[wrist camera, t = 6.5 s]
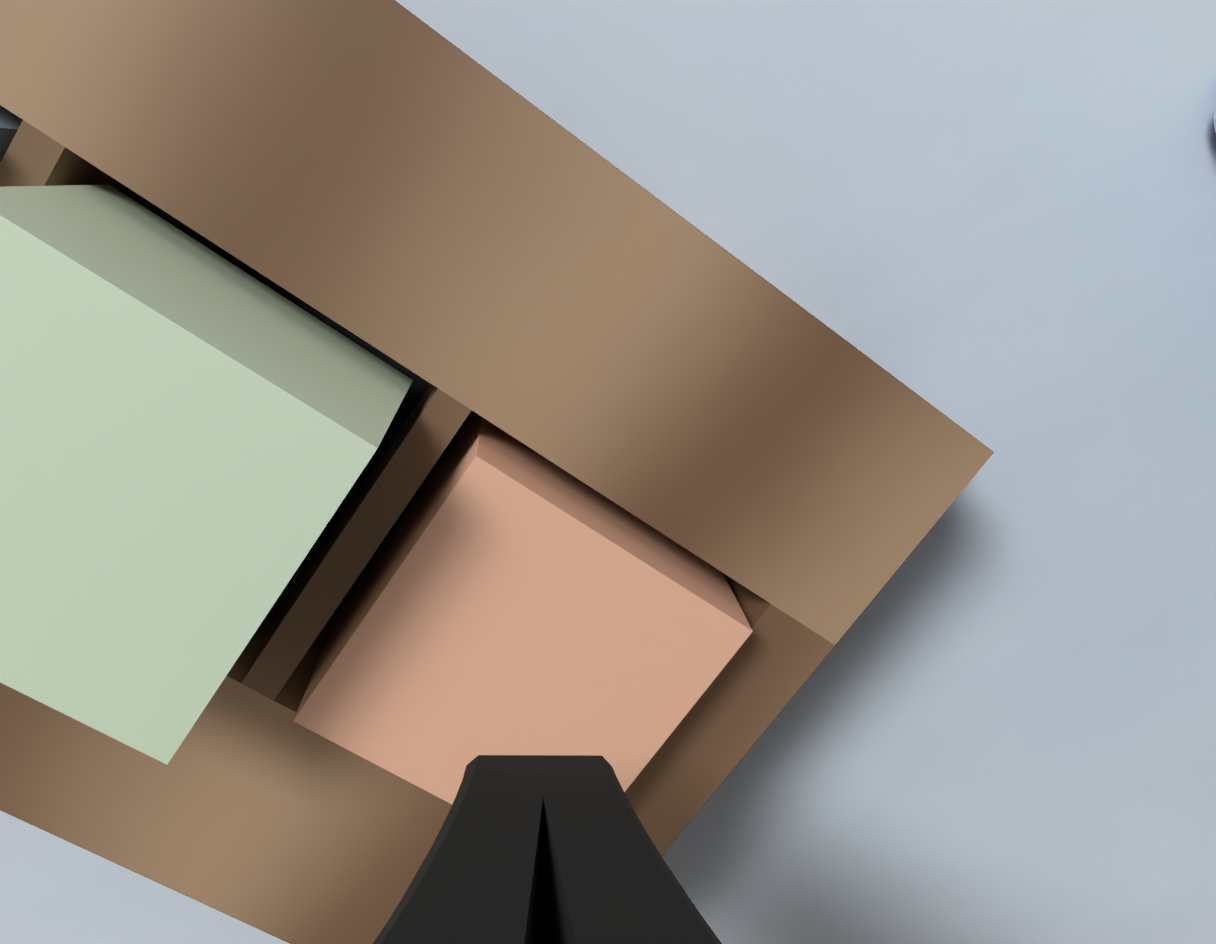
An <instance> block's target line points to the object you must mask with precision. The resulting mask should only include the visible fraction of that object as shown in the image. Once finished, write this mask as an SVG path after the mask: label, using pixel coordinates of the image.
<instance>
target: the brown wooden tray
mask: <svg viewBox="0 0 1216 944" xmlns="http://www.w3.org/2000/svg"><path fill="white" fill-rule="evenodd" d="M0 105H1V106H2V107H4V108H6V109H7V110H9V111H10V112H12V113H13V114H15V115H16V116H18V117H19V118H21V119H23V121H22V123H21V125H20V126H19V128H18V130H17V132H16V134H15V136H14V138H13V140H12V142H11V143H10V145H9V147H8V149H7V151H6V153H5V155H4V157H3V159H2V160H1V162H0V187H6V186H61V185H111V186H112V187H114V188H116V189H117V190H119V191H120V192H122V193H123V194H125V195H126V196H128V197H130V198H131V199H134V198H135V196H136V194H138V195H140V196H142V197H143V198H145V199H146V200H148V201H149V202H151V203H152V204H154V205H155V206H157V207H159V208H160V209H162V210H163V211H165V212H166V213H168V214H169V215H171V216H172V217H174V218H175V219H177V220H179V221H180V222H182V223H183V224H185V225H186V226H188V227H189V228H191V229H192V230H194V231H196V232H197V233H199V234H200V235H202V236H203V237H205V238H206V239H208V240H209V241H211V242H213V243H214V244H216V245H217V246H219V247H220V248H222V249H223V250H225V251H226V252H228V253H230V254H231V255H233V256H234V257H236V258H237V259H239V260H240V261H242V262H243V263H245V264H247V265H248V266H250V267H251V268H253V269H254V270H256V271H257V272H259V273H260V274H262V275H264V276H265V277H267V278H268V279H270V280H271V281H273V282H274V283H276V284H277V285H279V286H281V287H282V288H284V289H285V290H287V291H288V292H290V293H291V294H293V295H294V296H296V297H298V298H299V299H301V300H302V301H304V302H305V303H307V304H308V305H310V306H311V307H313V308H315V309H316V310H318V311H319V312H321V313H322V314H324V315H325V316H327V317H328V318H330V319H332V320H333V321H335V322H336V323H338V324H339V325H341V326H342V327H344V328H345V329H347V330H349V331H350V332H352V333H353V334H355V335H356V336H358V337H359V338H361V339H362V340H364V341H366V342H367V343H369V344H370V345H372V346H373V347H375V348H376V349H378V350H379V351H381V352H383V353H384V354H386V355H387V356H389V357H390V358H392V359H393V360H395V361H396V362H398V363H400V364H401V365H403V366H404V367H406V368H407V369H409V370H410V371H412V372H413V373H415V374H417V375H418V376H420V377H421V378H423V379H424V380H426V381H427V382H429V383H430V385H429V386H428V388H427V389H426V391H425V392H424V394H423V395H422V397H421V398H420V400H419V401H418V403H417V404H416V406H415V407H414V409H413V410H412V412H411V413H410V415H409V416H408V418H407V419H406V421H405V422H404V424H403V425H402V427H401V428H400V430H399V431H398V433H397V434H396V436H395V437H394V439H393V440H392V442H391V443H390V445H389V446H388V448H387V449H386V451H385V452H384V454H383V455H382V457H381V458H380V460H379V461H378V463H377V464H376V466H375V467H374V469H373V470H372V472H371V473H370V475H369V476H368V478H367V479H366V481H365V482H364V484H363V485H362V487H361V488H360V490H359V491H358V493H357V494H356V496H355V497H354V499H353V500H352V502H351V503H350V505H349V506H348V508H347V509H346V511H345V512H344V514H343V515H342V517H341V518H340V520H339V521H338V523H337V524H336V526H335V527H334V529H333V530H332V532H331V533H330V535H329V536H328V538H327V539H326V541H325V542H324V544H323V545H322V547H321V548H320V550H319V551H318V553H317V554H316V556H315V557H314V559H313V560H312V562H311V563H310V565H309V566H308V568H307V569H306V571H305V572H304V574H303V575H302V577H301V578H300V580H299V581H298V582H297V584H296V585H295V587H294V588H293V590H292V591H291V592H290V591H288V590H286V589H284V590H283V591H282V593H281V594H280V596H279V597H278V599H277V600H276V602H275V603H274V605H273V606H272V608H271V609H270V611H269V612H268V614H267V615H266V617H265V618H264V620H263V621H262V623H261V624H260V626H259V627H258V629H257V630H256V632H255V633H254V635H253V636H252V638H251V640H250V641H249V643H248V644H247V646H246V647H245V649H244V650H243V652H242V653H241V655H240V656H239V658H238V659H237V661H236V662H235V664H234V665H233V667H232V668H231V670H230V671H229V673H228V674H227V676H226V677H225V679H224V680H223V682H222V683H221V685H220V686H219V688H218V689H217V691H216V692H215V694H214V695H213V697H212V698H211V700H210V701H209V703H208V704H207V706H206V707H205V709H204V710H203V712H202V713H201V715H200V716H199V718H198V719H197V721H196V722H195V724H194V725H193V727H192V728H191V730H190V731H189V733H188V734H187V736H186V737H185V739H184V740H183V742H182V743H181V745H180V746H179V748H178V749H177V751H176V752H175V754H174V755H173V757H172V758H171V760H170V761H169V763H168V764H167V765H166V764H164V763H162V762H160V761H158V760H156V759H154V758H152V757H150V756H148V755H146V754H144V753H142V752H140V751H138V750H136V749H134V748H132V747H130V746H128V745H126V744H124V743H122V742H120V741H118V740H116V739H114V738H112V737H110V736H108V735H106V734H104V733H102V732H100V731H98V730H95V729H93V728H91V727H89V726H87V725H85V724H83V723H81V722H79V721H77V720H75V719H73V718H71V717H69V716H67V715H65V714H63V713H61V712H59V711H57V710H55V709H53V708H51V707H49V706H47V705H45V704H43V703H41V702H39V701H37V700H35V699H33V698H31V697H29V696H27V695H25V694H23V693H21V692H19V691H17V690H15V689H13V688H10V687H8V686H6V685H4V684H2V683H0V810H1V811H3V812H5V813H7V814H10V815H12V816H14V817H16V818H18V819H21V820H23V821H25V822H27V823H29V824H31V825H34V826H36V827H38V828H40V829H42V830H44V831H47V832H49V833H51V834H53V835H55V836H57V837H60V838H62V839H64V840H66V841H68V842H70V843H73V844H75V845H77V846H79V847H81V848H84V849H86V850H88V851H90V852H92V853H94V854H97V855H99V856H101V857H103V858H105V859H107V860H110V861H112V862H114V863H116V864H118V865H120V866H123V867H125V868H127V869H129V870H131V871H133V872H136V873H138V874H140V875H142V876H144V877H147V878H149V879H151V880H153V881H155V882H157V883H160V884H162V885H164V886H166V887H168V888H170V889H173V890H175V891H177V892H179V893H181V894H183V895H186V896H188V897H190V898H192V899H194V900H196V901H199V902H201V903H203V904H205V905H207V906H210V907H212V908H214V909H216V910H218V911H220V912H223V913H225V914H227V915H229V916H231V917H233V918H236V919H238V920H240V921H242V922H244V923H246V924H249V925H251V926H253V927H255V928H257V929H259V930H262V931H264V932H266V933H268V934H270V935H273V936H275V937H277V938H279V939H281V940H283V941H286V942H288V943H290V944H373V943H374V941H375V940H376V938H377V937H378V935H379V934H380V932H381V931H382V929H383V928H384V926H385V925H386V923H387V922H388V920H389V919H390V917H391V915H392V914H393V912H394V911H395V909H396V907H397V906H398V904H399V903H400V901H401V899H402V898H403V896H404V894H405V892H406V891H407V889H408V887H409V885H410V884H411V882H412V880H413V878H414V877H415V875H416V873H417V871H418V870H419V868H420V866H421V864H422V863H423V861H424V859H425V857H426V856H427V854H428V852H429V850H430V849H431V847H432V845H433V843H434V841H435V839H436V837H437V835H438V833H439V831H440V829H441V827H442V825H443V823H444V821H445V819H446V817H447V815H448V813H449V811H450V809H451V807H452V804H450V803H448V802H446V801H444V800H442V799H441V798H439V797H437V796H435V795H433V794H431V793H429V792H427V791H425V790H423V789H422V788H420V787H418V786H416V785H414V784H412V783H410V782H408V781H406V780H404V779H402V778H401V777H399V776H397V775H395V774H393V773H391V772H389V771H387V770H385V769H383V768H381V767H380V766H378V765H376V764H374V763H372V762H370V761H368V760H366V759H364V758H362V757H361V756H359V755H357V754H355V753H353V752H351V751H349V750H347V749H345V748H343V747H341V746H340V745H338V744H336V743H334V742H332V741H330V740H328V739H326V738H324V737H322V736H320V735H319V734H317V733H315V732H313V731H311V730H309V729H307V728H305V727H303V726H301V725H300V724H298V723H296V722H294V721H293V720H294V718H295V715H296V713H297V710H298V708H299V705H300V703H301V701H302V698H303V696H304V693H305V691H306V689H307V686H308V684H309V681H310V679H311V677H312V674H313V672H314V669H315V667H316V665H317V662H318V660H319V657H320V655H321V652H322V650H323V648H324V645H325V643H326V640H327V638H328V636H329V633H330V631H331V628H332V626H333V624H334V621H335V619H336V617H334V616H332V614H333V613H334V611H335V610H336V608H337V607H338V605H339V604H340V603H341V601H342V600H343V598H344V597H345V595H346V594H347V592H348V591H349V589H350V588H351V586H352V585H353V583H354V582H355V581H356V579H357V578H358V576H359V575H360V573H361V572H362V570H363V569H364V567H365V566H366V564H367V563H368V562H369V560H370V559H371V557H372V556H373V554H374V553H375V551H376V550H377V548H378V547H379V545H380V544H381V542H382V541H383V540H384V538H385V537H386V535H387V534H388V532H389V531H390V529H391V528H392V526H393V525H394V523H395V522H396V520H397V519H398V518H399V516H400V515H401V513H402V512H403V510H404V509H405V507H406V506H407V504H408V503H409V501H410V500H411V498H412V497H413V496H414V494H415V493H416V491H417V490H418V488H419V487H420V485H421V484H422V482H423V481H424V479H425V478H426V476H427V475H428V474H429V472H430V471H431V469H432V468H433V466H434V465H435V463H436V462H437V460H438V459H439V457H440V456H441V455H442V453H443V452H444V450H445V449H446V447H447V446H448V444H449V443H450V441H451V440H452V438H453V437H454V435H455V434H456V433H457V431H458V430H459V428H460V427H461V425H462V424H463V422H464V421H465V419H466V418H467V416H468V415H469V413H470V412H471V411H474V412H475V413H477V414H478V415H480V416H481V417H483V418H485V419H486V420H488V421H489V422H491V423H492V424H494V425H495V426H497V427H498V428H500V429H502V430H503V431H505V432H506V433H508V434H509V435H511V436H512V437H514V438H515V439H517V440H519V441H520V442H522V443H523V444H525V445H526V446H528V447H529V448H531V449H532V450H534V451H536V452H537V453H539V454H540V455H542V456H543V457H545V458H546V459H548V460H549V461H551V462H553V463H554V464H556V465H557V466H559V467H560V468H562V469H563V470H565V471H566V472H568V473H570V474H571V475H573V476H574V477H576V478H577V479H579V480H580V481H582V482H583V483H585V484H587V485H588V486H590V487H591V488H593V489H594V490H596V491H597V492H599V493H600V494H602V495H604V496H605V497H607V498H608V499H610V500H611V501H613V502H614V503H616V504H617V505H619V506H621V507H622V508H624V509H625V510H627V511H628V512H630V513H631V514H633V515H634V516H636V517H638V518H639V519H641V520H642V521H644V522H645V523H647V524H648V525H650V526H651V527H653V528H655V529H656V530H658V531H659V532H661V533H662V534H664V535H665V536H667V537H668V538H670V539H672V540H673V541H675V542H676V543H678V544H679V545H681V546H682V547H684V548H685V549H687V550H689V551H690V552H692V553H693V554H695V555H696V556H698V557H699V558H701V559H702V560H704V561H706V562H707V563H709V564H710V565H712V566H713V567H715V568H716V569H718V570H719V571H721V572H723V574H724V576H725V578H726V580H727V582H728V584H729V586H730V588H731V590H732V592H733V594H734V596H735V598H736V599H737V601H738V603H739V605H740V607H741V609H742V611H743V613H744V615H745V617H746V619H747V621H748V623H749V625H750V627H751V629H752V630H753V632H752V633H751V634H750V636H749V637H748V638H747V639H746V641H745V642H744V643H743V644H742V646H741V647H740V648H739V649H738V651H737V652H736V653H735V654H734V656H733V657H732V658H731V659H730V661H729V662H728V663H727V664H726V666H725V667H724V668H723V669H722V671H721V672H720V673H719V674H718V676H717V677H716V678H715V679H714V681H713V682H712V683H711V684H710V686H709V687H708V688H707V689H706V691H705V692H704V693H703V694H702V696H701V697H700V698H699V699H698V701H697V702H696V703H695V704H694V706H693V707H692V708H691V710H690V711H689V712H688V713H687V715H686V716H685V717H684V718H683V720H682V721H681V722H680V723H679V725H678V726H677V727H676V728H675V730H674V731H673V732H672V733H671V735H670V736H669V737H668V738H667V740H666V741H665V742H664V743H663V745H662V746H661V747H660V748H659V750H658V751H657V752H656V753H655V755H654V756H653V757H652V758H651V760H650V761H649V762H648V763H647V765H646V766H645V767H644V768H643V770H642V771H641V772H640V773H639V775H638V776H637V777H636V778H635V780H634V781H633V782H632V783H631V785H630V786H629V787H628V788H627V790H626V791H625V792H624V793H625V794H626V796H627V798H628V800H629V802H630V804H631V806H632V807H633V809H634V811H635V813H636V815H637V816H638V818H639V820H640V822H641V823H642V825H643V827H644V828H645V830H646V832H647V833H648V835H649V837H650V838H651V840H652V842H653V844H654V845H655V847H656V848H657V850H658V852H659V853H660V855H661V856H662V855H663V854H664V852H665V851H666V850H667V849H668V848H669V846H670V845H671V844H672V843H673V842H674V840H675V839H676V838H677V837H678V835H679V834H680V833H681V832H682V831H683V829H684V828H685V827H686V826H687V824H688V823H689V822H690V821H691V820H692V818H693V817H694V816H695V815H696V814H697V812H698V811H699V810H700V809H701V807H702V806H703V805H704V804H705V803H706V801H707V800H708V799H709V798H710V797H711V795H712V794H713V793H714V792H715V790H716V789H717V788H718V787H719V786H720V784H721V783H722V782H723V781H724V780H725V778H726V777H727V776H728V775H729V773H730V772H731V771H732V770H733V769H734V767H735V766H736V765H737V764H738V763H739V761H740V760H741V759H742V758H743V756H744V755H745V754H746V753H747V752H748V750H749V749H750V748H751V747H752V746H753V744H754V743H755V742H756V741H757V739H758V738H759V737H760V736H761V735H762V733H763V732H764V731H765V730H766V729H767V727H768V726H769V725H770V724H771V722H772V721H773V720H774V719H775V718H776V716H777V715H778V714H779V713H780V712H781V710H782V709H783V708H784V707H785V705H786V704H787V703H788V702H789V701H790V699H791V698H792V697H793V696H794V695H795V693H796V692H797V691H798V690H799V688H800V687H801V686H802V685H803V684H804V682H805V681H806V680H807V679H808V678H809V676H810V675H811V674H812V673H813V671H814V670H815V669H816V668H817V667H818V665H819V664H820V663H821V662H822V660H823V659H824V658H825V657H826V656H827V654H828V653H829V652H830V651H831V650H832V648H833V647H834V646H835V645H836V643H837V642H838V641H839V640H840V639H841V637H842V636H843V635H844V634H845V633H846V631H847V630H848V629H849V628H850V626H851V625H852V624H853V623H854V622H855V620H856V619H857V618H858V617H859V616H860V614H861V613H862V612H863V611H864V609H865V608H866V607H867V606H868V605H869V603H870V602H871V601H872V600H873V599H874V597H875V596H876V595H877V594H878V592H879V591H880V590H881V589H882V588H883V586H884V585H885V584H886V583H887V582H888V580H889V579H890V578H891V577H892V575H893V574H894V573H895V572H896V571H897V569H898V568H899V567H900V566H901V565H902V563H903V562H904V561H905V560H906V558H907V557H908V556H909V555H910V554H911V552H912V551H913V550H914V549H915V548H916V546H917V545H918V544H919V543H920V541H921V540H922V539H923V538H924V537H925V535H926V534H927V533H928V532H929V531H930V529H931V528H932V527H933V526H934V524H935V523H936V522H937V521H938V520H939V518H940V517H941V516H942V515H943V514H944V512H945V511H946V510H947V509H948V507H949V506H950V505H951V504H952V503H953V501H954V500H955V499H956V498H957V496H958V495H959V494H960V493H961V492H962V490H963V489H964V488H965V487H966V486H967V484H968V483H969V482H970V481H971V479H972V478H973V477H974V476H975V475H976V473H977V472H978V471H979V470H980V469H981V467H982V466H983V465H984V464H985V462H986V461H987V460H988V459H989V458H990V456H991V455H992V454H993V453H994V452H993V451H992V450H991V449H989V448H988V447H987V446H985V445H984V444H983V443H981V442H980V441H979V440H977V439H976V438H975V437H973V436H972V435H971V434H969V433H968V432H967V431H965V430H964V429H963V428H961V427H960V426H959V425H957V424H956V423H955V422H953V421H952V420H951V419H949V418H948V417H947V416H945V415H944V414H943V413H941V412H940V411H939V410H937V409H936V408H935V407H934V406H932V405H931V404H930V403H928V402H927V401H926V400H924V399H923V398H922V397H920V396H919V395H918V394H916V393H915V392H914V391H912V390H911V389H910V388H908V387H907V386H906V385H904V384H903V383H902V382H900V381H899V380H898V379H896V378H895V377H894V376H892V375H891V374H890V373H888V372H887V371H886V370H884V369H883V368H882V367H880V366H879V365H878V364H876V363H875V362H874V361H872V360H871V359H870V358H869V357H867V356H866V355H865V354H863V353H862V352H861V351H859V350H858V349H857V348H855V347H854V346H853V345H851V344H850V343H849V342H847V341H846V340H845V339H843V338H842V337H841V336H839V335H838V334H837V333H835V332H834V331H833V330H831V329H830V328H829V327H827V326H826V325H825V324H823V323H822V322H821V321H819V320H818V319H817V318H815V317H814V316H813V315H811V314H810V313H809V312H807V311H806V310H805V309H803V308H802V307H801V306H800V305H798V304H797V303H796V302H794V301H793V300H792V299H790V298H789V297H788V296H786V295H785V294H784V293H782V292H781V291H780V290H778V289H777V288H776V287H774V286H773V285H772V284H770V283H769V282H768V281H766V280H765V279H764V278H762V277H761V276H760V275H758V274H757V273H756V272H754V271H753V270H752V269H750V268H749V267H748V266H746V265H745V264H744V263H742V262H741V261H740V260H738V259H737V258H736V257H734V256H733V255H732V254H731V253H729V252H728V251H727V250H725V249H724V248H723V247H721V246H720V245H719V244H717V243H716V242H715V241H713V240H712V239H711V238H709V237H708V236H707V235H705V234H704V233H703V232H701V231H700V230H699V229H697V228H696V227H695V226H693V225H692V224H691V223H689V222H688V221H687V220H685V219H684V218H683V217H681V216H680V215H679V214H677V213H676V212H675V211H673V210H672V209H671V208H669V207H668V206H667V205H666V204H664V203H663V202H662V201H660V200H659V199H658V198H656V197H655V196H654V195H652V194H651V193H650V192H648V191H647V190H646V189H644V188H643V187H642V186H640V185H639V184H638V183H636V182H635V181H634V180H632V179H631V178H630V177H628V176H627V175H626V174H624V173H623V172H622V171H620V170H619V169H618V168H616V167H615V166H614V165H612V164H611V163H610V162H608V161H607V160H606V159H604V158H603V157H602V156H600V155H599V154H598V153H597V152H595V151H594V150H593V149H591V148H590V147H589V146H587V145H586V144H585V143H583V142H582V141H581V140H579V139H578V138H577V137H575V136H574V135H573V134H571V133H570V132H569V131H567V130H566V129H565V128H563V127H562V126H561V125H559V124H558V123H557V122H555V121H554V120H553V119H551V118H550V117H549V116H547V115H546V114H545V113H543V112H542V111H541V110H539V109H538V108H537V107H535V106H534V105H533V104H532V103H530V102H529V101H528V100H526V99H525V98H524V97H522V96H521V95H520V94H518V93H517V92H516V91H514V90H513V89H512V88H510V87H509V86H508V85H506V84H505V83H504V82H502V81H501V80H500V79H498V78H497V77H496V76H494V75H493V74H492V73H490V72H489V71H488V70H486V69H485V68H484V67H482V66H481V65H480V64H478V63H477V62H476V61H474V60H473V59H472V58H470V57H469V56H468V55H466V54H465V53H464V52H463V51H461V50H460V49H459V48H457V47H456V46H455V45H453V44H452V43H451V42H449V41H448V40H447V39H445V38H444V37H443V36H441V35H440V34H439V33H437V32H436V31H435V30H433V29H432V28H431V27H429V26H428V25H427V24H425V23H424V22H423V21H421V20H420V19H419V18H417V17H416V16H415V15H413V14H412V13H411V12H409V11H408V10H407V9H405V8H404V7H403V6H401V5H400V4H399V3H397V2H396V1H395V0H0Z"/></svg>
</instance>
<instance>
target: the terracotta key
mask: <svg viewBox="0 0 1216 944" xmlns="http://www.w3.org/2000/svg"><path fill="white" fill-rule="evenodd" d="M752 632H753V630H752V629H751V627H750V625H749V623H748V621H747V619H746V617H745V615H744V613H743V611H742V609H741V607H740V605H739V603H738V601H737V599H736V598H735V596H734V594H733V592H732V590H731V588H730V586H729V584H728V582H727V580H726V578H725V576H724V574H723V572H721V571H719V570H718V569H716V568H715V567H713V566H712V565H710V564H709V563H707V562H706V561H704V560H702V559H701V558H699V557H698V556H696V555H695V554H693V553H692V552H690V551H689V550H687V549H685V548H684V547H682V546H681V545H679V544H678V543H676V542H675V541H673V540H672V539H670V538H668V537H667V536H665V535H664V534H662V533H661V532H659V531H658V530H656V529H655V528H653V527H651V526H650V525H648V524H647V523H645V522H644V521H642V520H641V519H639V518H638V517H636V516H634V515H633V514H631V513H630V512H628V511H627V510H625V509H624V508H622V507H621V506H619V505H617V504H616V503H614V502H613V501H611V500H610V499H608V498H607V497H605V496H604V495H602V494H600V493H599V492H597V491H596V490H594V489H593V488H591V487H590V486H588V485H587V484H585V483H583V482H582V481H580V480H579V479H577V478H576V477H574V476H573V475H571V474H570V473H568V472H566V471H565V470H563V469H562V468H560V467H559V466H557V465H556V464H554V463H553V462H551V461H549V460H548V459H546V458H545V457H543V456H542V455H540V454H539V453H537V452H536V451H534V450H532V449H531V448H529V447H528V446H526V445H525V444H523V443H522V442H520V441H519V440H517V439H515V438H514V437H512V436H511V435H509V434H508V433H506V432H505V431H503V430H502V429H500V428H498V427H497V426H495V425H494V424H492V423H491V422H489V421H488V420H486V419H485V418H483V417H481V416H480V415H478V414H477V413H475V412H474V413H473V415H472V416H471V417H470V419H469V420H468V422H467V423H466V425H465V426H464V428H463V429H462V431H461V432H460V434H459V435H458V436H457V438H456V439H455V441H454V442H453V444H452V445H451V447H450V448H449V450H448V451H447V453H446V454H445V456H444V457H443V458H442V460H441V461H440V463H439V464H438V466H437V467H436V469H435V470H434V472H433V473H432V475H431V476H430V477H429V479H428V480H427V482H426V483H425V485H424V486H423V488H422V489H421V491H420V492H419V494H418V495H417V496H416V498H415V499H414V501H413V502H412V504H411V505H410V507H409V508H408V510H407V511H406V513H405V514H404V516H403V517H402V518H401V520H400V521H399V523H398V524H397V526H396V527H395V529H394V530H393V532H392V533H391V535H390V536H389V537H388V539H387V540H386V542H385V543H384V545H383V546H382V548H381V549H380V551H379V552H378V554H377V555H376V556H375V558H374V559H373V561H372V562H371V564H370V565H369V567H368V568H367V570H366V571H365V573H364V574H363V576H362V577H361V578H360V580H359V581H358V583H357V584H356V586H355V587H354V589H353V590H352V592H351V593H350V595H349V596H348V597H347V599H346V600H345V602H344V603H343V605H342V606H341V608H340V609H339V612H338V614H337V616H336V619H335V621H334V624H333V626H332V628H331V631H330V633H329V636H328V638H327V640H326V643H325V645H324V648H323V650H322V652H321V655H320V657H319V660H318V662H317V665H316V667H315V669H314V672H313V674H312V677H311V679H310V681H309V684H308V686H307V689H306V691H305V693H304V696H303V698H302V701H301V703H300V705H299V708H298V710H297V713H296V715H295V718H294V720H293V721H294V722H296V723H298V724H300V725H301V726H303V727H305V728H307V729H309V730H311V731H313V732H315V733H317V734H319V735H320V736H322V737H324V738H326V739H328V740H330V741H332V742H334V743H336V744H338V745H340V746H341V747H343V748H345V749H347V750H349V751H351V752H353V753H355V754H357V755H359V756H361V757H362V758H364V759H366V760H368V761H370V762H372V763H374V764H376V765H378V766H380V767H381V768H383V769H385V770H387V771H389V772H391V773H393V774H395V775H397V776H399V777H401V778H402V779H404V780H406V781H408V782H410V783H412V784H414V785H416V786H418V787H420V788H422V789H423V790H425V791H427V792H429V793H431V794H433V795H435V796H437V797H439V798H441V799H442V800H444V801H446V802H448V803H450V804H453V802H454V800H455V797H456V795H457V792H458V790H459V787H460V785H461V782H462V779H463V776H464V773H465V769H466V765H467V764H469V763H470V762H471V761H472V760H473V759H474V758H476V757H477V756H478V755H592V756H603V757H604V758H605V759H606V760H607V762H608V763H609V764H610V765H611V766H612V768H613V770H614V772H615V774H616V777H617V779H618V781H619V783H620V785H621V787H622V789H623V791H624V792H625V791H626V790H627V788H628V787H629V786H630V785H631V783H632V782H633V781H634V780H635V778H636V777H637V776H638V775H639V773H640V772H641V771H642V770H643V768H644V767H645V766H646V765H647V763H648V762H649V761H650V760H651V758H652V757H653V756H654V755H655V753H656V752H657V751H658V750H659V748H660V747H661V746H662V745H663V743H664V742H665V741H666V740H667V738H668V737H669V736H670V735H671V733H672V732H673V731H674V730H675V728H676V727H677V726H678V725H679V723H680V722H681V721H682V720H683V718H684V717H685V716H686V715H687V713H688V712H689V711H690V710H691V708H692V707H693V706H694V704H695V703H696V702H697V701H698V699H699V698H700V697H701V696H702V694H703V693H704V692H705V691H706V689H707V688H708V687H709V686H710V684H711V683H712V682H713V681H714V679H715V678H716V677H717V676H718V674H719V673H720V672H721V671H722V669H723V668H724V667H725V666H726V664H727V663H728V662H729V661H730V659H731V658H732V657H733V656H734V654H735V653H736V652H737V651H738V649H739V648H740V647H741V646H742V644H743V643H744V642H745V641H746V639H747V638H748V637H749V636H750V634H751V633H752Z"/></svg>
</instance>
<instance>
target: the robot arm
mask: <svg viewBox="0 0 1216 944" xmlns="http://www.w3.org/2000/svg"><path fill="white" fill-rule="evenodd" d="M1213 121H1214V128H1215V132H1216V108H1215V113H1214V118H1213ZM373 944H722V943H721V942H720V941H719V939H718V938H717V937H716V935H715V934H714V932H713V931H712V930H711V928H710V927H709V926H708V924H707V923H706V921H705V920H704V919H703V917H702V916H701V915H700V913H699V912H698V910H697V909H696V907H695V906H694V904H693V903H692V901H691V900H690V898H689V897H688V895H687V894H686V892H685V891H684V889H683V888H682V887H681V885H680V884H679V882H678V881H677V879H676V878H675V876H674V875H673V873H672V872H671V870H670V869H669V867H668V866H667V864H666V863H665V861H664V859H663V858H662V856H661V855H660V853H659V852H658V850H657V848H656V847H655V845H654V844H653V842H652V840H651V838H650V837H649V835H648V833H647V832H646V830H645V828H644V827H643V825H642V823H641V822H640V820H639V818H638V816H637V815H636V813H635V811H634V809H633V807H632V806H631V804H630V802H629V800H628V798H627V796H626V794H625V793H624V791H623V789H622V787H621V785H620V783H619V781H618V779H617V777H616V774H615V772H614V770H613V768H612V766H611V765H610V764H609V763H608V762H607V760H606V759H605V758H604V757H603V756H592V755H478V756H477V757H476V758H474V759H473V760H472V761H471V762H470V763H469V764H467V765H466V769H465V773H464V776H463V779H462V782H461V785H460V787H459V790H458V792H457V795H456V797H455V800H454V802H453V804H452V807H451V809H450V811H449V813H448V815H447V817H446V819H445V821H444V823H443V825H442V827H441V829H440V831H439V833H438V835H437V837H436V839H435V841H434V843H433V845H432V847H431V849H430V850H429V852H428V854H427V856H426V857H425V859H424V861H423V863H422V864H421V866H420V868H419V870H418V871H417V873H416V875H415V877H414V878H413V880H412V882H411V884H410V885H409V887H408V889H407V891H406V892H405V894H404V896H403V898H402V899H401V901H400V903H399V904H398V906H397V907H396V909H395V911H394V912H393V914H392V915H391V917H390V919H389V920H388V922H387V923H386V925H385V926H384V928H383V929H382V931H381V932H380V934H379V935H378V937H377V938H376V940H375V941H374V943H373Z"/></svg>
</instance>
